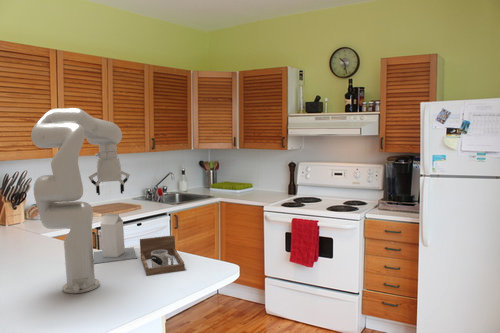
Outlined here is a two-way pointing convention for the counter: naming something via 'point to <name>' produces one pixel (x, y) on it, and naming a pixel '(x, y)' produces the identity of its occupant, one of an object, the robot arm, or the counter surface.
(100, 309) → the counter surface
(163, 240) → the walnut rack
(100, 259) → the slate mat
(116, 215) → the milk carton
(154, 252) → the mug
